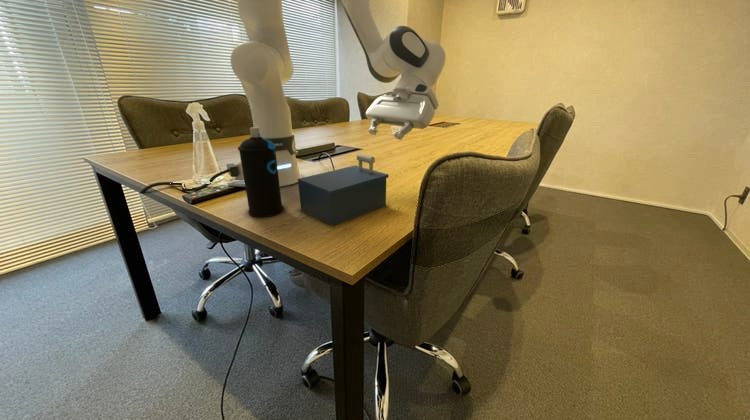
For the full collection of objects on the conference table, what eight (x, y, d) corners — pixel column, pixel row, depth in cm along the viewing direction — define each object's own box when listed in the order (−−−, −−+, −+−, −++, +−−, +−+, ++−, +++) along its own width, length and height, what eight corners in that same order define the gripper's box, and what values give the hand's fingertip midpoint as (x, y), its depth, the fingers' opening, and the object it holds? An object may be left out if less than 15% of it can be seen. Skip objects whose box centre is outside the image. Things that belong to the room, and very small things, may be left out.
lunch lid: (355, 168, 85) (355, 150, 83) (388, 177, 76) (389, 158, 74) (298, 182, 72) (296, 161, 70) (330, 195, 64) (329, 172, 62)
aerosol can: (246, 219, 70) (231, 131, 62) (249, 206, 77) (236, 125, 70) (283, 215, 72) (273, 129, 65) (283, 203, 80) (274, 124, 72)
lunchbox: (353, 193, 87) (353, 168, 84) (385, 205, 79) (386, 178, 76) (300, 210, 75) (298, 182, 72) (332, 226, 67) (330, 195, 64)
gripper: (376, 86, 87) (351, 124, 84) (436, 87, 74) (408, 132, 71) (386, 102, 92) (363, 138, 89) (444, 105, 79) (419, 148, 76)
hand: (383, 135), depth 80 cm, fingers open, 8 cm apart
